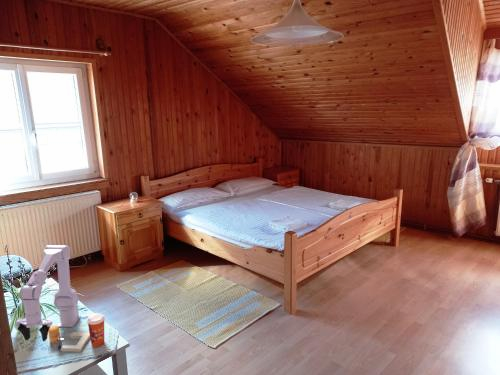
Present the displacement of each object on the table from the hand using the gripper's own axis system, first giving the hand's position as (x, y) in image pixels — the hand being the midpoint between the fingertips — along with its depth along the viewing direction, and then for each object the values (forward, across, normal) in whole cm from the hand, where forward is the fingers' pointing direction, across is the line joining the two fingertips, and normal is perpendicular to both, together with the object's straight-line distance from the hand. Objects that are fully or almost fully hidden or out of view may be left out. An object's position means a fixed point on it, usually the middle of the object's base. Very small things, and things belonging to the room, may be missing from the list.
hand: (36, 339), depth 158 cm
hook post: (+10, +5, +8) cm, 14 cm away
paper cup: (+10, +21, +12) cm, 26 cm away
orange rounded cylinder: (+10, 0, +13) cm, 16 cm away
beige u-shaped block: (+10, +11, +12) cm, 19 cm away
